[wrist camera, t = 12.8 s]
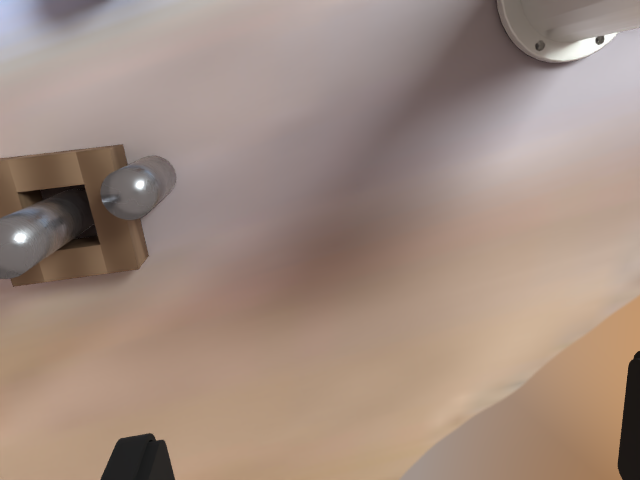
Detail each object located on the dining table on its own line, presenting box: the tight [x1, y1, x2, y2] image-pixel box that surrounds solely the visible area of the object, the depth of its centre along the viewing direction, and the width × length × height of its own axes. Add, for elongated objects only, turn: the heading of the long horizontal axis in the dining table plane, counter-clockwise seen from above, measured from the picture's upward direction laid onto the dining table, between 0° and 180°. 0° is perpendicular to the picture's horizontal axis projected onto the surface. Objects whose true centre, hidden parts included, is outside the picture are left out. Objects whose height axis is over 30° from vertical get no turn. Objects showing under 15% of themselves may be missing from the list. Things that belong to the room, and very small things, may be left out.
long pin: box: [0, 189, 95, 279], centre depth 33 cm, size 4×4×12 cm
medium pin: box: [100, 156, 176, 220], centre depth 35 cm, size 4×4×8 cm
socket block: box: [0, 145, 149, 287], centre depth 37 cm, size 10×10×4 cm
